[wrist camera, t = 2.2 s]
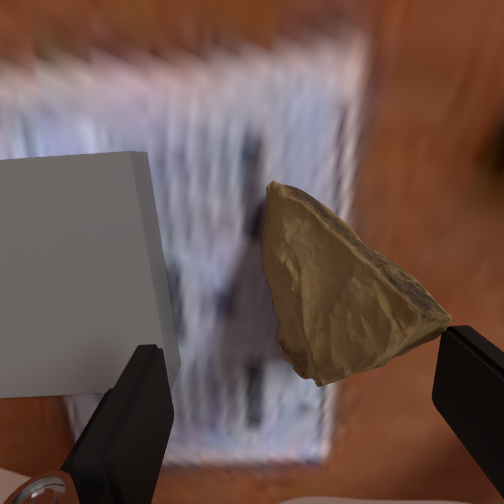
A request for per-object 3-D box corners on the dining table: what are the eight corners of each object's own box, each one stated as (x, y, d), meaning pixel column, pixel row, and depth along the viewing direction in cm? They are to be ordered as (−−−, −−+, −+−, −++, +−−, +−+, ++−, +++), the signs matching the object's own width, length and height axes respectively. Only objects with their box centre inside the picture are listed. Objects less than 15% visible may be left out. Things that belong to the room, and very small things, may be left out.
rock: (345, 404, 19) (464, 288, 15) (274, 499, 12) (459, 332, 8) (238, 289, 24) (307, 178, 20) (143, 311, 17) (220, 148, 13)
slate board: (146, 152, 17) (129, 151, 14) (180, 364, 21) (171, 390, 18) (-131, 171, 17) (-191, 173, 15) (-44, 375, 21) (-80, 401, 19)
